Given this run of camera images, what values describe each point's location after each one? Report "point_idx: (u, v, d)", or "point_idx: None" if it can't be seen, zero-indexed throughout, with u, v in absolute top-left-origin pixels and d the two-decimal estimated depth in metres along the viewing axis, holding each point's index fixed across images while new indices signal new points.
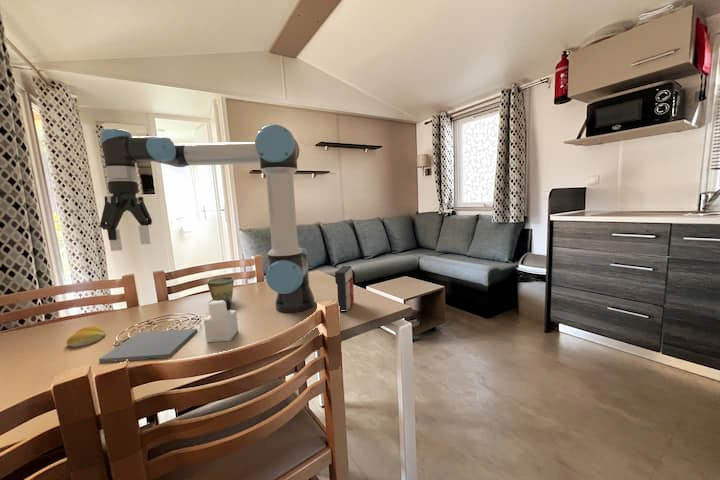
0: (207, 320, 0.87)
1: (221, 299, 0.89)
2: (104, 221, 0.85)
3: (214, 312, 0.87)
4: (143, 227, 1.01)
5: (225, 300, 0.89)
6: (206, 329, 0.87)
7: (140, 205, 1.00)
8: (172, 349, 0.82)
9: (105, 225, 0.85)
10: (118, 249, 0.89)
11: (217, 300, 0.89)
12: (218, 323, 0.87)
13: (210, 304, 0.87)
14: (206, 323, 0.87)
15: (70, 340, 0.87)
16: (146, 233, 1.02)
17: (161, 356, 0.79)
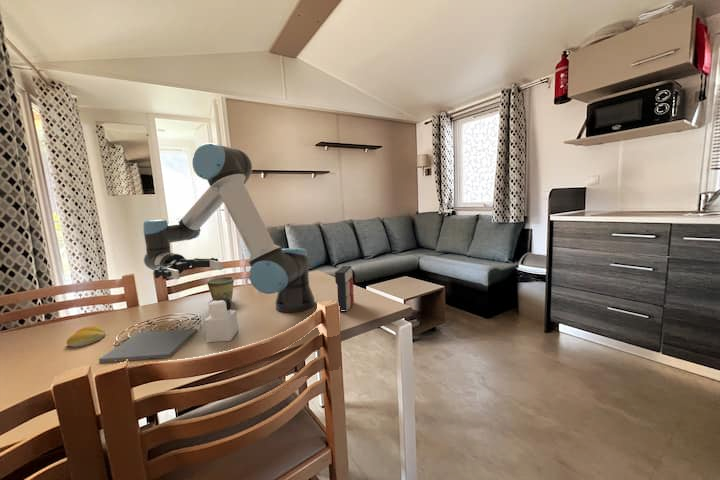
0: (207, 320, 0.87)
1: (221, 299, 0.89)
2: None
3: (214, 312, 0.87)
4: (210, 263, 1.02)
5: (225, 300, 0.89)
6: (206, 329, 0.87)
7: None
8: (172, 349, 0.82)
9: (154, 273, 0.90)
10: (175, 272, 0.88)
11: (217, 300, 0.89)
12: (219, 323, 0.87)
13: (210, 304, 0.87)
14: (206, 323, 0.87)
15: (70, 340, 0.87)
16: (213, 262, 1.01)
17: (161, 356, 0.79)
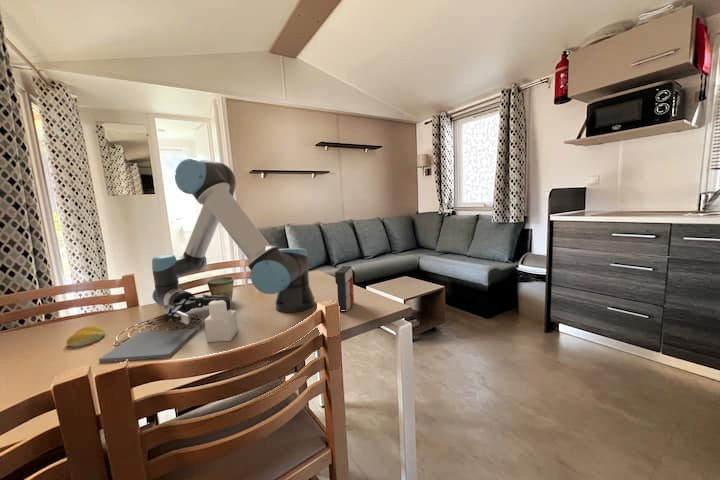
0: (207, 320, 0.87)
1: (221, 299, 0.89)
2: None
3: (214, 312, 0.87)
4: None
5: (225, 300, 0.89)
6: (206, 329, 0.87)
7: (207, 298, 1.06)
8: (172, 349, 0.82)
9: (164, 317, 0.90)
10: (185, 317, 0.87)
11: (217, 300, 0.89)
12: (219, 323, 0.87)
13: (210, 304, 0.87)
14: (206, 323, 0.87)
15: (70, 340, 0.87)
16: None
17: (161, 356, 0.79)
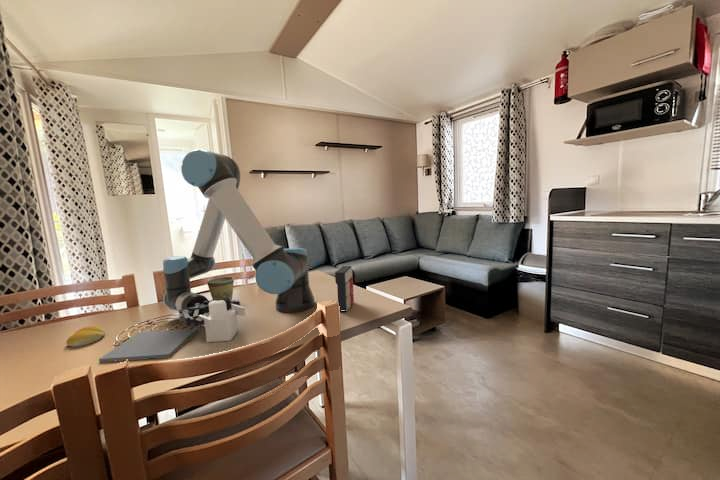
0: None
1: (221, 299, 0.89)
2: (185, 321, 0.86)
3: (214, 312, 0.87)
4: (232, 308, 0.95)
5: (225, 300, 0.89)
6: (206, 329, 0.87)
7: None
8: (172, 349, 0.82)
9: (186, 321, 0.85)
10: (209, 321, 0.83)
11: (217, 300, 0.89)
12: (218, 323, 0.87)
13: (210, 304, 0.87)
14: None
15: (70, 340, 0.88)
16: (236, 307, 0.94)
17: (161, 356, 0.79)
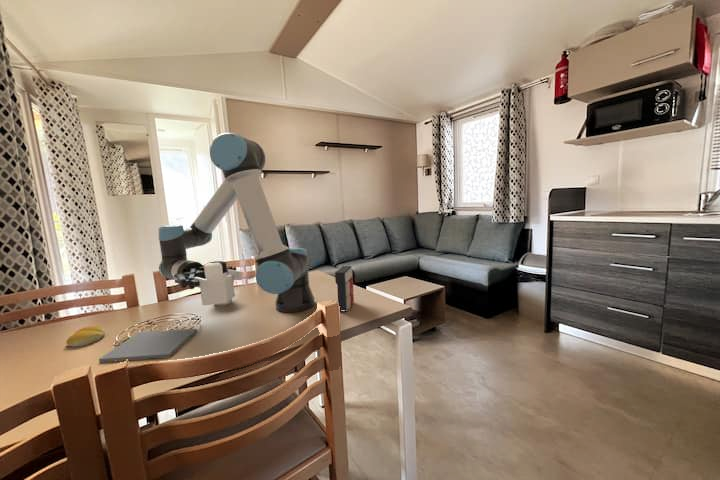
0: None
1: (217, 262, 0.88)
2: (180, 283, 0.85)
3: (210, 274, 0.85)
4: (229, 273, 0.93)
5: (221, 263, 0.87)
6: (202, 291, 0.85)
7: None
8: (172, 349, 0.82)
9: (181, 282, 0.84)
10: (204, 281, 0.82)
11: (213, 262, 0.87)
12: (214, 285, 0.85)
13: (206, 266, 0.86)
14: None
15: (70, 340, 0.88)
16: (232, 271, 0.92)
17: (161, 356, 0.79)
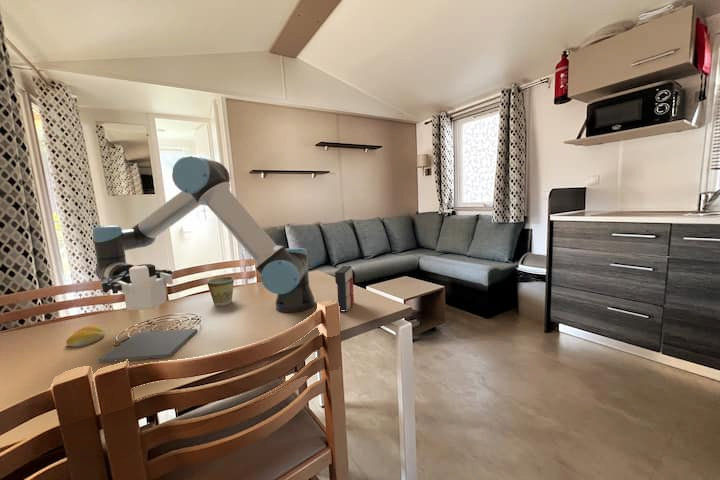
0: None
1: (144, 265, 0.83)
2: None
3: (134, 277, 0.81)
4: (161, 276, 0.89)
5: (148, 266, 0.83)
6: (125, 296, 0.81)
7: None
8: (172, 349, 0.82)
9: (102, 287, 0.79)
10: (124, 286, 0.77)
11: (139, 266, 0.83)
12: (139, 289, 0.81)
13: (130, 269, 0.81)
14: None
15: (70, 340, 0.88)
16: (163, 275, 0.88)
17: (161, 356, 0.79)
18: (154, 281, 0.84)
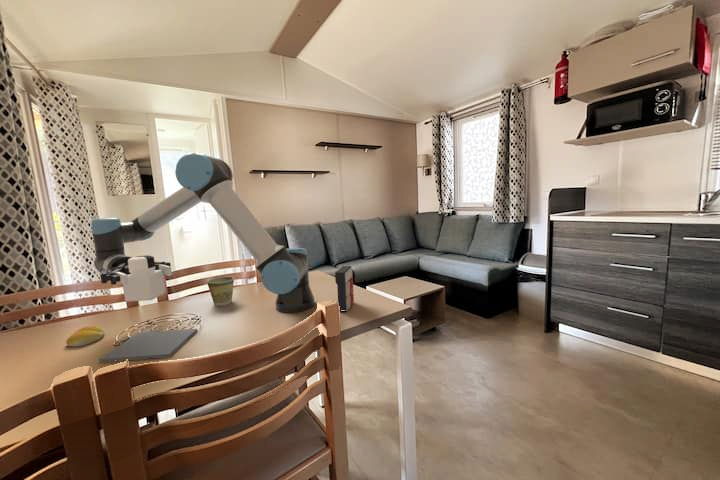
0: None
1: (143, 256, 0.83)
2: (101, 279, 0.80)
3: (133, 268, 0.81)
4: (160, 268, 0.89)
5: (147, 257, 0.83)
6: (124, 287, 0.80)
7: None
8: (172, 349, 0.82)
9: (101, 277, 0.79)
10: (123, 277, 0.77)
11: (138, 257, 0.82)
12: (137, 280, 0.80)
13: (129, 260, 0.81)
14: None
15: (70, 340, 0.88)
16: (162, 266, 0.87)
17: (161, 356, 0.79)
18: (153, 272, 0.84)
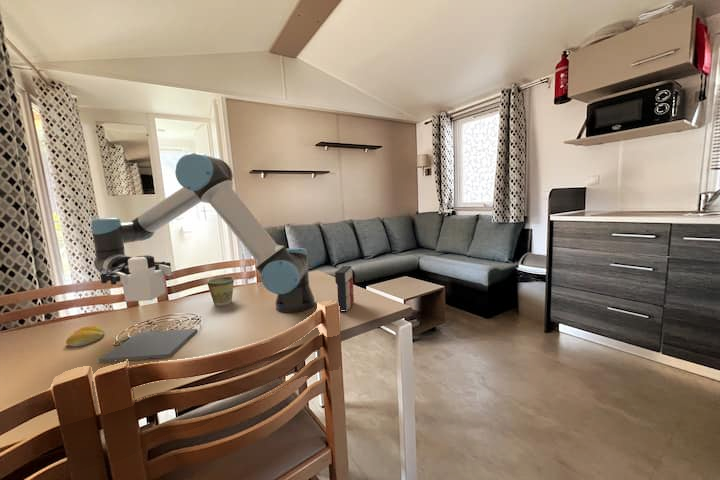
0: None
1: (143, 256, 0.83)
2: (101, 279, 0.80)
3: (133, 268, 0.81)
4: (160, 268, 0.89)
5: (147, 257, 0.83)
6: (124, 287, 0.80)
7: None
8: (172, 349, 0.82)
9: (101, 277, 0.79)
10: (123, 277, 0.77)
11: (138, 257, 0.82)
12: (137, 280, 0.80)
13: (129, 260, 0.81)
14: None
15: (70, 340, 0.88)
16: (162, 266, 0.87)
17: (161, 356, 0.79)
18: (153, 272, 0.84)
